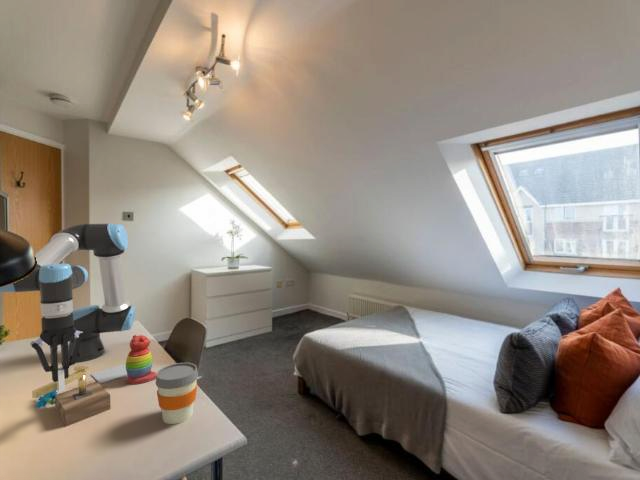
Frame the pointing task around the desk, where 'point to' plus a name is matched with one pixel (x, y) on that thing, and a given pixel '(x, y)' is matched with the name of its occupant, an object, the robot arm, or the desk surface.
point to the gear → (47, 399)
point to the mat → (110, 374)
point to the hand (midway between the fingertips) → (61, 389)
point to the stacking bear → (139, 361)
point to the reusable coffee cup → (177, 391)
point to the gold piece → (72, 377)
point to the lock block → (82, 403)
